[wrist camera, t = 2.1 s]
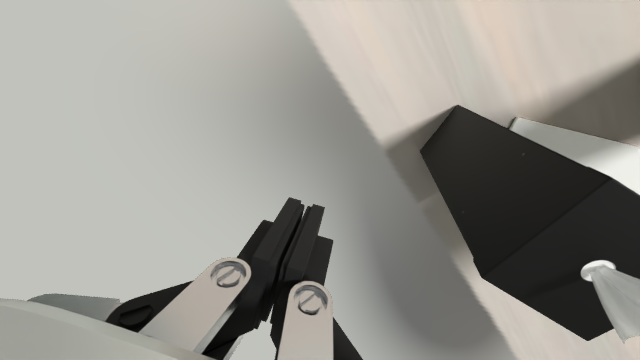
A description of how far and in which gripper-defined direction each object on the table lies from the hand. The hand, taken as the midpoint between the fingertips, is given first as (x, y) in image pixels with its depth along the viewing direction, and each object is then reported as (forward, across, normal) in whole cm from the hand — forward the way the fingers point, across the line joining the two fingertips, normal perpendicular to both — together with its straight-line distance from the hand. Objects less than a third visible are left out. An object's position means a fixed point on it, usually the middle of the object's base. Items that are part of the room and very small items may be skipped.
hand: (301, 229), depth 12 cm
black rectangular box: (+28, -16, 0) cm, 33 cm away
